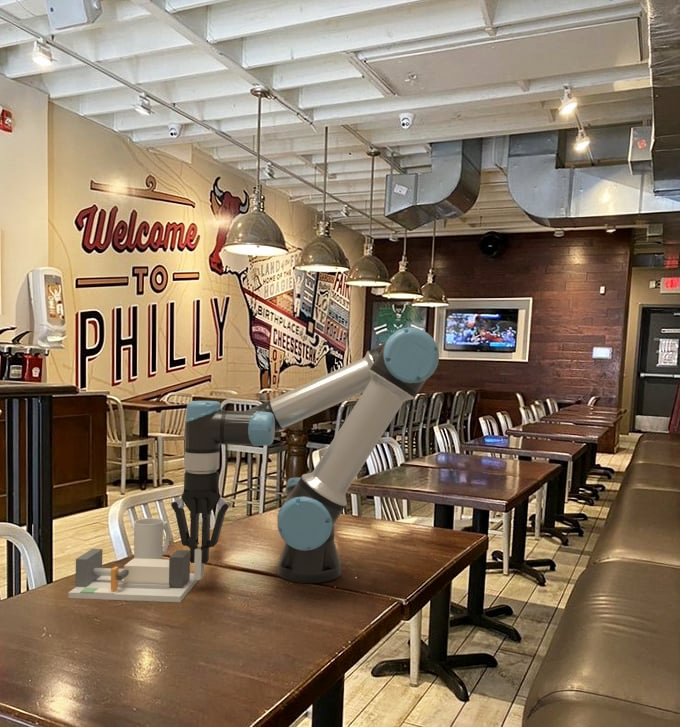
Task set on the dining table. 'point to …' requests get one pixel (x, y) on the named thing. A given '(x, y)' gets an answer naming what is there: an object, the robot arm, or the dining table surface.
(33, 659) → the dining table surface
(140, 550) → the mug
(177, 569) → the beige and grey block
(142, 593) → the base
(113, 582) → the needle
